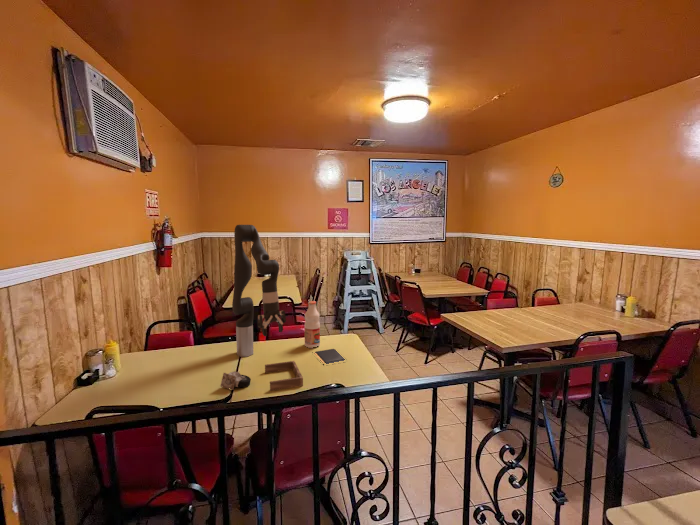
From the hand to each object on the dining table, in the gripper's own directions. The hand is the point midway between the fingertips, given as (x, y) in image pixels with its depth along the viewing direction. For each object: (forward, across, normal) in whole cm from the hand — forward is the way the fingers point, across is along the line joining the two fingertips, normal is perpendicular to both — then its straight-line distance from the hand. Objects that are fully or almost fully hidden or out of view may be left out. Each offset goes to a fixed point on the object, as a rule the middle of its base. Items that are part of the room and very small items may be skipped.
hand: (273, 334), depth 167 cm
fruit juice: (+20, -40, -24) cm, 51 cm away
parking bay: (+23, -3, +1) cm, 23 cm away
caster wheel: (+22, +16, -8) cm, 29 cm away
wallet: (+23, -37, -4) cm, 44 cm away
